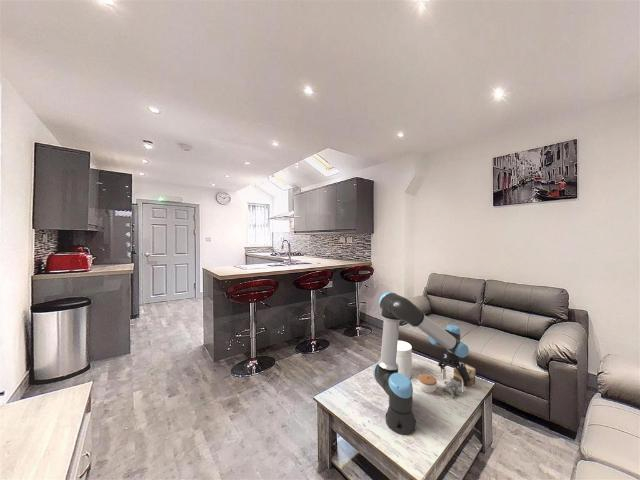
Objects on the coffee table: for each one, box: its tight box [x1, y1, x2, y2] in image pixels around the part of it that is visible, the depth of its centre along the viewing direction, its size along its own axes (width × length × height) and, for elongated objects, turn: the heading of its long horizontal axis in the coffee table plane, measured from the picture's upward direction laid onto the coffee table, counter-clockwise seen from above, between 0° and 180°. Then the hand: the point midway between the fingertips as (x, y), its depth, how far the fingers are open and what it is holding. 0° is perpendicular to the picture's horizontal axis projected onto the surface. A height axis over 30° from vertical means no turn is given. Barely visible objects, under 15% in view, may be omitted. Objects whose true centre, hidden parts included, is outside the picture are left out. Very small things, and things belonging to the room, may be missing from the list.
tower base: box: [452, 376, 476, 389], centre depth 163 cm, size 12×7×5 cm, turn 116°
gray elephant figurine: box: [442, 377, 462, 399], centre depth 154 cm, size 9×12×8 cm
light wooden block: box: [453, 363, 477, 380], centre depth 163 cm, size 12×7×5 cm, turn 116°
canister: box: [396, 339, 413, 380], centre depth 174 cm, size 16×16×20 cm
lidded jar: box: [417, 373, 438, 395], centre depth 156 cm, size 11×11×9 cm
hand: (453, 384), depth 154 cm, fingers open, 13 cm apart
